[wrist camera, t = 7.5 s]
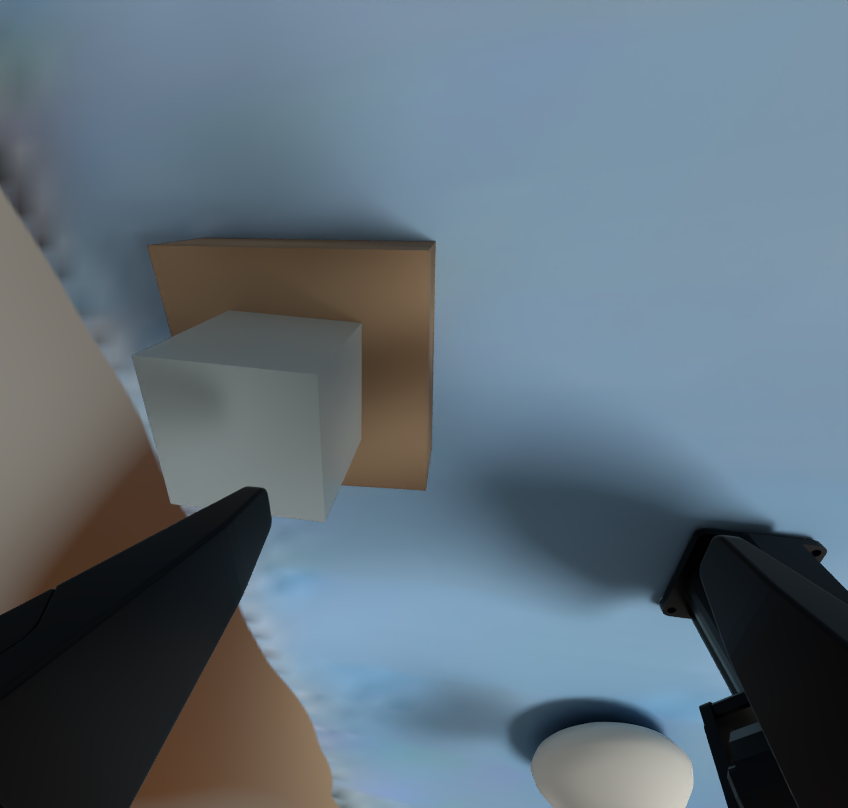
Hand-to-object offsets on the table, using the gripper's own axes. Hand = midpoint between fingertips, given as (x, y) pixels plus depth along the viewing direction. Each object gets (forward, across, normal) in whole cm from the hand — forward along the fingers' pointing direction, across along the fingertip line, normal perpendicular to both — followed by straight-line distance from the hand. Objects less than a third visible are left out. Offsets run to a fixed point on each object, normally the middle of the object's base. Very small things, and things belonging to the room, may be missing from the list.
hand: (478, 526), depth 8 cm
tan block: (+12, +7, +1) cm, 14 cm away
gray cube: (+8, +7, 0) cm, 11 cm away
